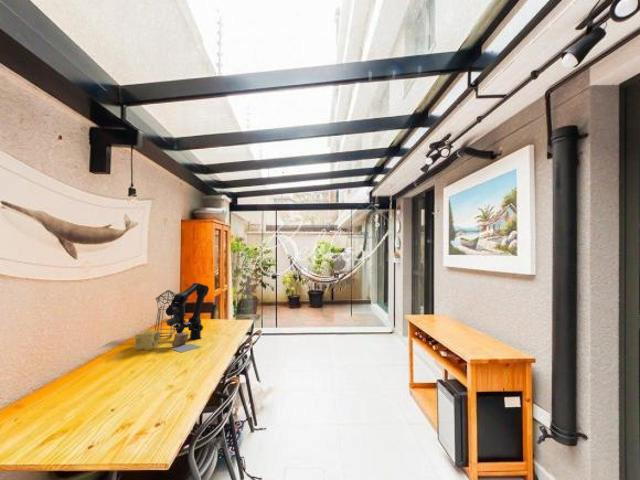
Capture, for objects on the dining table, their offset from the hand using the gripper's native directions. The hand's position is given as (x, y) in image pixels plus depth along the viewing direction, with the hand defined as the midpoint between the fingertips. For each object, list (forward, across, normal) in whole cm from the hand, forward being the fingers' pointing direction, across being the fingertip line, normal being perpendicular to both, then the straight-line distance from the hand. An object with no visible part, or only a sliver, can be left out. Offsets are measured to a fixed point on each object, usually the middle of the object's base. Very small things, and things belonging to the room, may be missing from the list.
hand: (179, 336), depth 207 cm
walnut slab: (+6, 0, 0) cm, 6 cm away
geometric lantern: (+7, -26, +7) cm, 28 cm away
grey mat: (+6, +8, 0) cm, 10 cm away
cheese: (+7, -14, -14) cm, 21 cm away
